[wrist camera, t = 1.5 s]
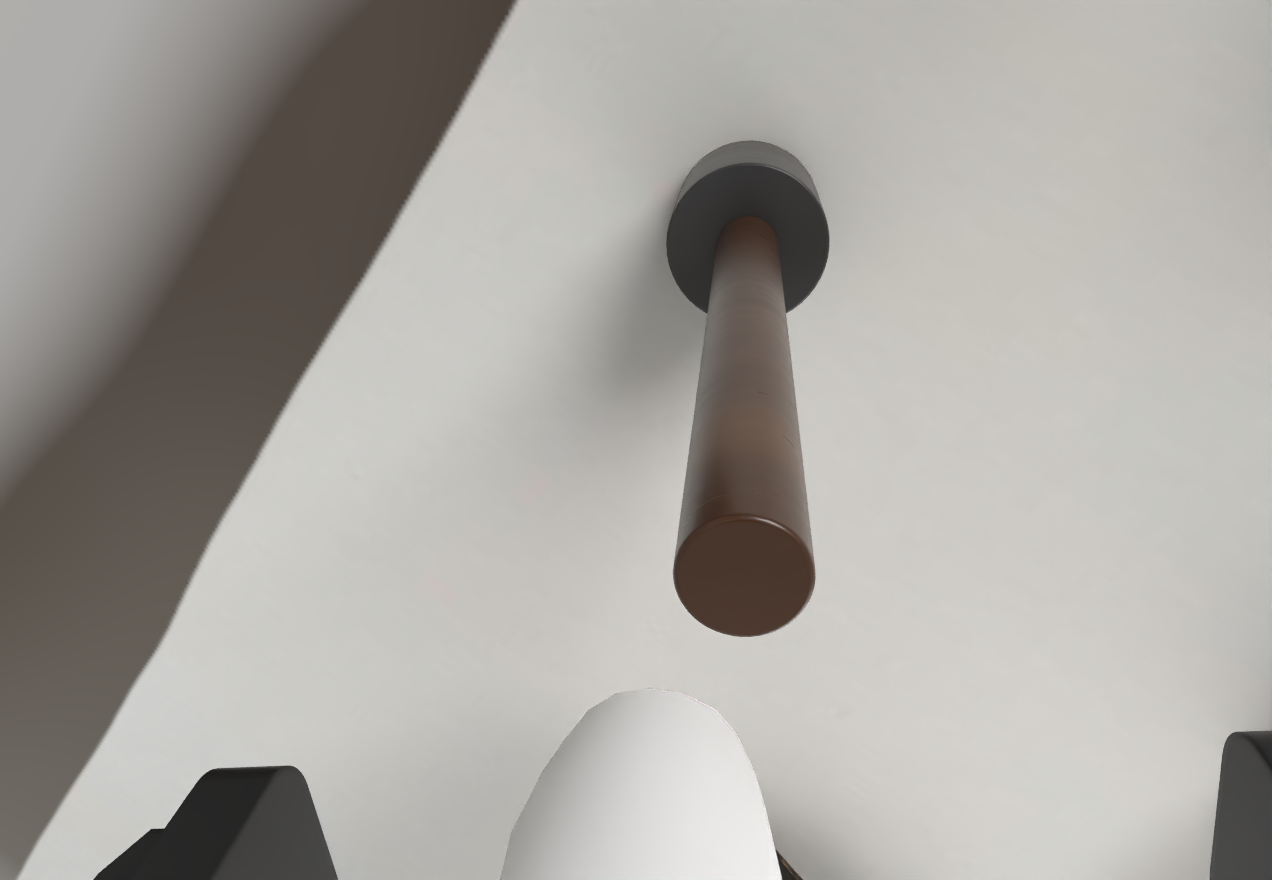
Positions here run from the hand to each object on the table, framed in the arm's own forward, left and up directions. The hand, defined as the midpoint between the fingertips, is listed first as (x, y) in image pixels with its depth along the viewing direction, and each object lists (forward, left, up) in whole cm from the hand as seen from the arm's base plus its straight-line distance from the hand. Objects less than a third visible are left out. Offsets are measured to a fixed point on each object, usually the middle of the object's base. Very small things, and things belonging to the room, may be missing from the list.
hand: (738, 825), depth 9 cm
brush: (0, 0, -28) cm, 28 cm away
